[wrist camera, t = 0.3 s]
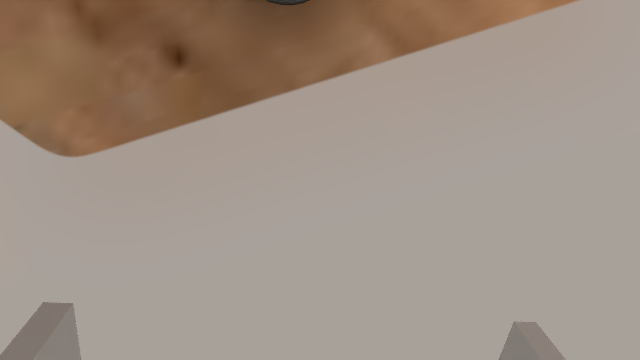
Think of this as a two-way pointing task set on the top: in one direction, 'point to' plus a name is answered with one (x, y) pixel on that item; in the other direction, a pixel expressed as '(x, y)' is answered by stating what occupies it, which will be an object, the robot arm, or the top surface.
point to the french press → (288, 2)
